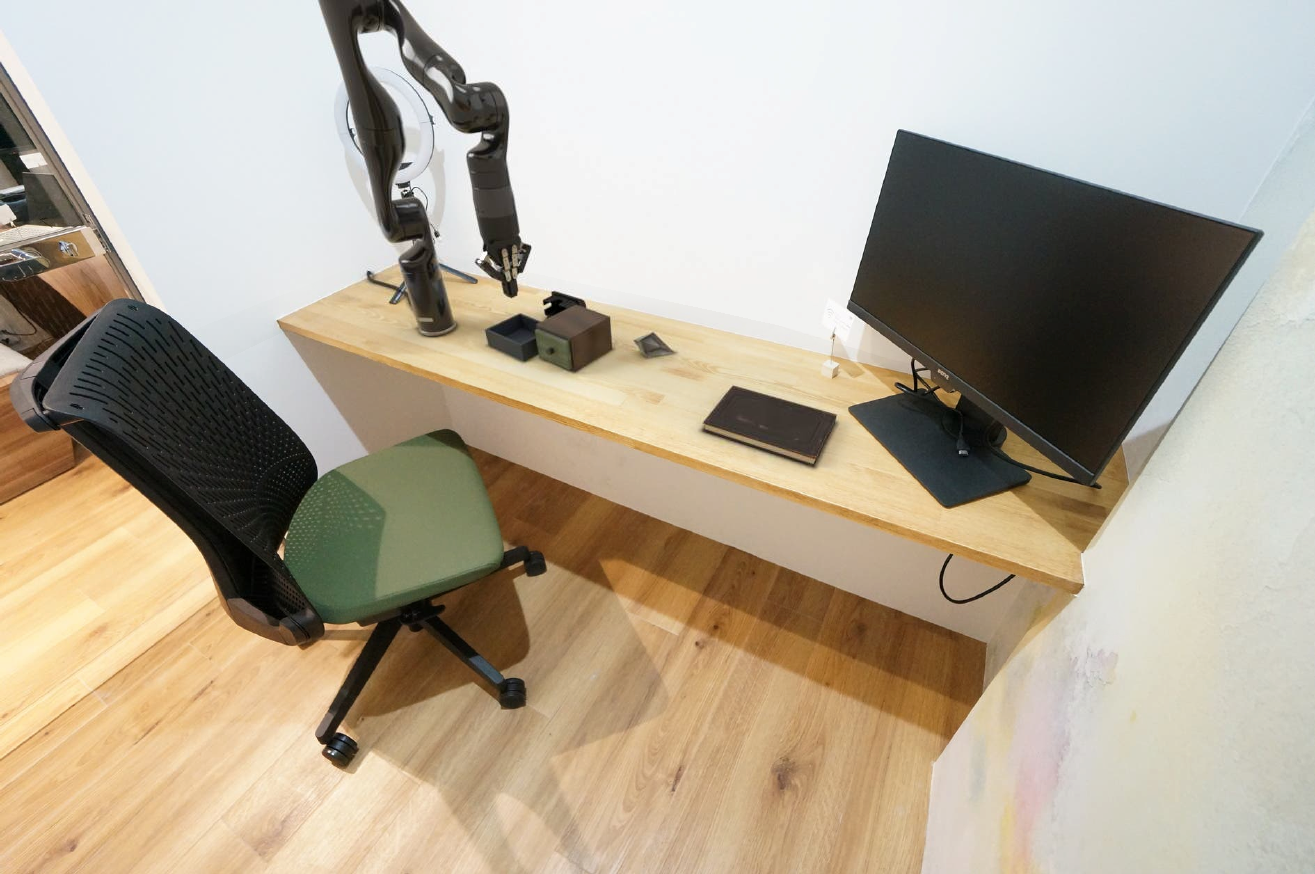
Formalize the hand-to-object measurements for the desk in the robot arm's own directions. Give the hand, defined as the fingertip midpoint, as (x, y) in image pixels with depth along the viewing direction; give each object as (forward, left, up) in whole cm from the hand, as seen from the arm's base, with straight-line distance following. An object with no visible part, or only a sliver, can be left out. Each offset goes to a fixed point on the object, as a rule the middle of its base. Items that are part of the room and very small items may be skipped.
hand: (511, 295), depth 111 cm
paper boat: (+17, +26, -21) cm, 37 cm away
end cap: (-15, +28, -21) cm, 38 cm away
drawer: (+1, +13, -20) cm, 24 cm away
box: (-14, +11, -21) cm, 27 cm away
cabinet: (+1, +16, -21) cm, 26 cm away
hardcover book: (+54, +18, -21) cm, 60 cm away
